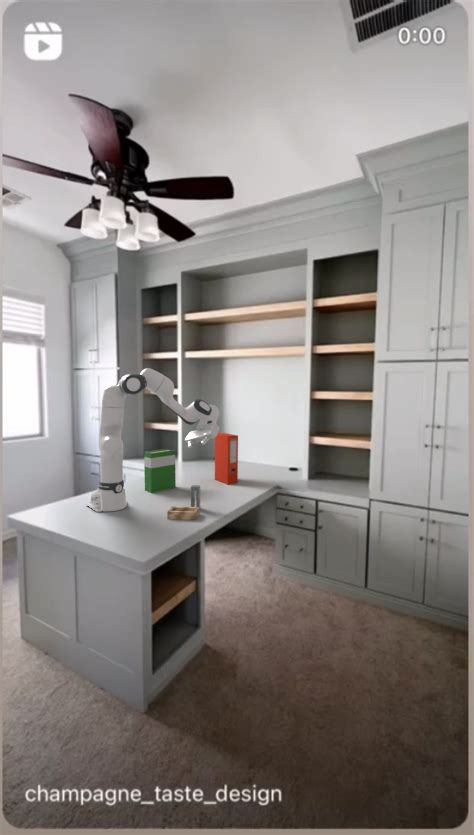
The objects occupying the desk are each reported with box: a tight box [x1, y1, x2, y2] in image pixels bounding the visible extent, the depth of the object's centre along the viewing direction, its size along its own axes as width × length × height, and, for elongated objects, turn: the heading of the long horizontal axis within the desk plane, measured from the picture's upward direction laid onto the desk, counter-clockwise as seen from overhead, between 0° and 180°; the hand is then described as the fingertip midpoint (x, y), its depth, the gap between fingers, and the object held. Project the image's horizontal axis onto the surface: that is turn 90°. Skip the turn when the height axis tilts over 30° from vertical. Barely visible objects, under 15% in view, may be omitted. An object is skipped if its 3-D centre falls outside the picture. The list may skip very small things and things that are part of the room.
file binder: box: [214, 432, 239, 486], centre depth 250 cm, size 8×17×32 cm, turn 32°
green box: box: [143, 448, 176, 494], centre depth 231 cm, size 18×7×24 cm, turn 135°
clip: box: [190, 484, 201, 510], centre depth 192 cm, size 4×4×12 cm
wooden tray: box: [166, 506, 200, 520], centre depth 181 cm, size 14×8×4 cm, turn 84°
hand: (196, 445), depth 198 cm, fingers open, 8 cm apart
